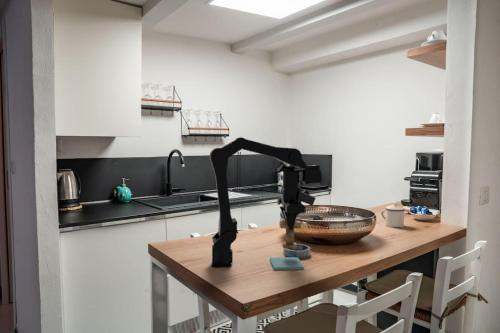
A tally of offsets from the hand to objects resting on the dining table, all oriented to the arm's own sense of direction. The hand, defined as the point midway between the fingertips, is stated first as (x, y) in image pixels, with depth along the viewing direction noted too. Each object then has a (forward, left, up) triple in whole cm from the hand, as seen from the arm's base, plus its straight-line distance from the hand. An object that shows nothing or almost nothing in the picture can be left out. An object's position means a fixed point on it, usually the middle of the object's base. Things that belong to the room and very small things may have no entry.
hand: (289, 228), depth 124 cm
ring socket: (+4, +7, -11) cm, 14 cm away
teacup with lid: (+62, +50, -12) cm, 81 cm away
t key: (0, 0, -7) cm, 6 cm away
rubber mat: (-2, -4, -11) cm, 12 cm away
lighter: (+18, +30, -12) cm, 37 cm away
